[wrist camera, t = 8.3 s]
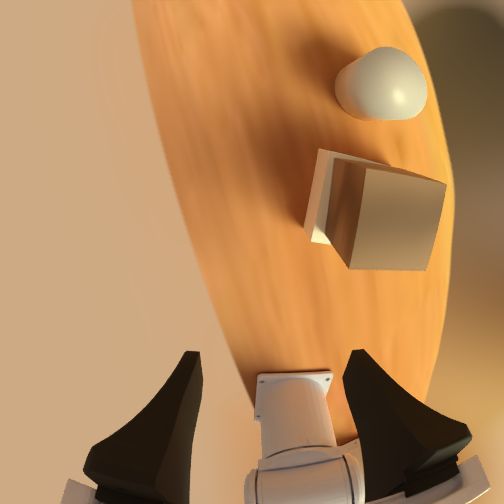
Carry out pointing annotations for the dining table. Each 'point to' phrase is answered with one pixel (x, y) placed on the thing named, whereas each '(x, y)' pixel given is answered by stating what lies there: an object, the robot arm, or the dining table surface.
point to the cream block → (323, 194)
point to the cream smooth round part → (381, 86)
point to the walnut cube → (382, 216)
